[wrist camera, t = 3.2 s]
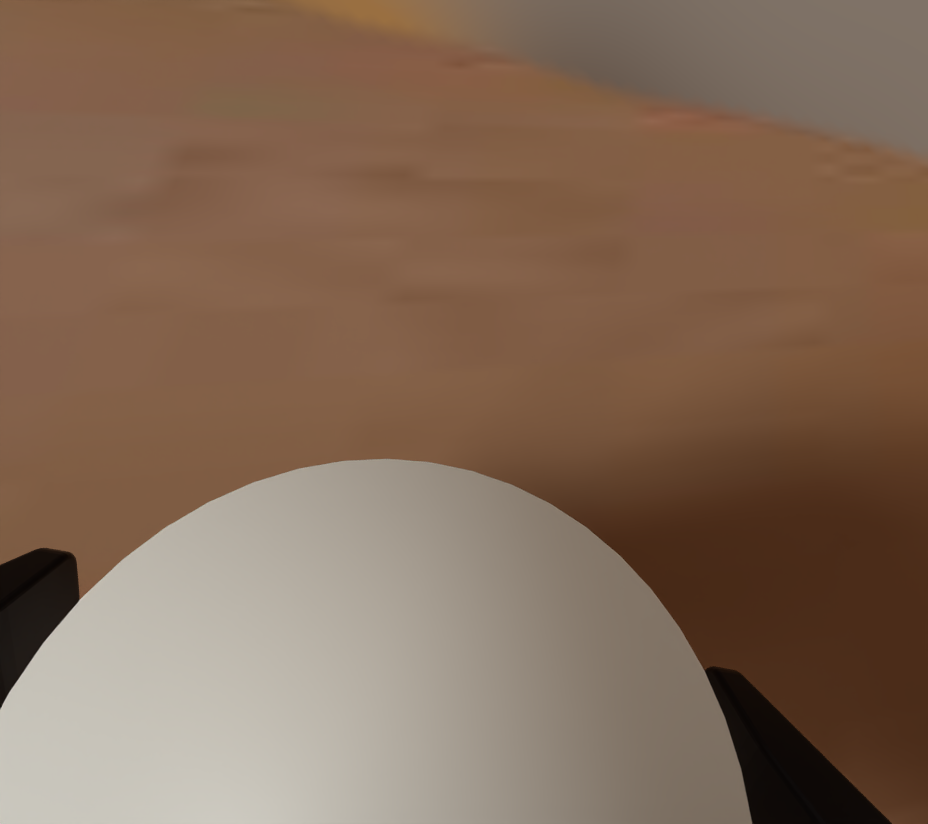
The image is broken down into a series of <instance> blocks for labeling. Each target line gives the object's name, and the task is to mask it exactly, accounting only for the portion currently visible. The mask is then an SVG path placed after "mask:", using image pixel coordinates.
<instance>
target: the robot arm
mask: <svg viewBox="0 0 928 824" xmlns="http://www.w3.org/2000/svg"><path fill="white" fill-rule="evenodd" d="M78 602H79V584H78V573H77V562H76V558H75V556H74V555H73V554H72V553H70V552H66V551H61V550H55V549H49V548H39V549H36V550H33V551H31V552H29V553H26V554H24V555H22V556H20V557H17V558H15V559H13V560H10V561H8V562H6V563H4V564H1V565H0V709H1V707H2V705H3V703H4V701H5V699H6V698H7V696H8V694H9V692H10V691H11V689H12V688H13V686H14V685H15V684H16V682H17V681H18V679H19V678H20V676H21V675H22V673H23V672H24V670H25V669H26V667H27V666H28V665H29V663H30V662H31V660H32V659H33V657H34V656H35V654H36V653H37V651H38V650H39V648H40V647H41V646H42V644H43V643H44V641H45V640H46V639H47V638H48V637H49V636H50V634H51V633H52V632H53V631H54V630H55V629H56V627H57V626H58V625H59V624H60V623H61V622H62V620H63V619H64V618H65V617H66V616H67V615H68V613H69V612H70V611H71V610H72V609H73V608H74V606H75V605H76V604H77V603H78ZM705 673H706V676H707V678H708V680H709V682H710V685H711V687H712V689H713V692H714V694H715V696H716V698H717V701H718V703H719V705H720V708H721V710H722V712H723V714H724V717H725V720H726V723H727V726H728V729H729V732H730V735H731V739H732V742H733V745H734V748H735V751H736V754H737V758H738V761H739V764H740V767H741V771H742V776H743V781H744V786H745V791H746V796H747V800H748V805H749V810H750V815H751V820H752V824H892V823H891V822H890V821H889V820H888V819H887V818H886V817H885V816H884V815H883V814H882V813H881V812H880V811H879V810H878V809H877V808H876V807H875V806H874V805H873V804H872V803H871V802H870V801H869V800H868V799H867V798H866V797H865V796H864V795H863V794H862V793H861V792H860V791H859V790H858V789H857V788H856V787H855V786H854V785H853V784H852V783H851V782H850V781H849V780H848V779H847V778H845V777H844V776H843V775H842V774H841V773H840V772H839V771H838V770H837V769H836V768H835V767H834V766H833V765H832V764H831V763H830V762H829V761H828V760H827V759H826V758H825V757H824V756H823V755H822V754H821V753H820V752H819V751H818V750H817V749H816V748H815V747H814V746H813V745H812V744H811V743H810V742H809V741H808V740H807V739H806V738H805V737H804V736H803V735H802V734H801V733H800V732H799V731H798V730H797V729H796V728H795V727H794V726H793V725H792V724H791V723H790V722H789V721H788V720H787V719H786V718H785V717H784V716H783V715H782V714H781V713H780V712H779V711H778V710H777V709H776V708H775V707H774V706H773V705H772V704H771V703H770V702H769V701H768V700H767V699H766V698H765V697H764V696H763V695H762V694H761V693H760V692H759V691H758V690H757V689H756V688H755V687H754V686H753V685H752V684H751V683H750V682H749V681H748V680H747V679H746V678H745V677H744V676H743V675H742V674H740V673H739V672H737V671H735V670H731V669H725V668H720V667H709V668H707V669H706V670H705Z"/></svg>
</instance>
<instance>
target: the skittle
mask: <svg viewBox="0 0 928 824" xmlns="http://www.w3.org/2000/svg"><path fill="white" fill-rule="evenodd" d="M0 824H752V820H751V815H750V810H749V805H748V800H747V796H746V791H745V786H744V781H743V776H742V771H741V767H740V764H739V761H738V758H737V754H736V751H735V748H734V745H733V742H732V739H731V735H730V732H729V729H728V726H727V723H726V720H725V717H724V714H723V712H722V710H721V708H720V705H719V703H718V701H717V698H716V696H715V694H714V692H713V689H712V687H711V685H710V682H709V680H708V678H707V676H706V673H705V671H704V669H703V667H702V666H701V664H700V662H699V660H698V659H697V657H696V655H695V653H694V652H693V650H692V648H691V647H690V645H689V643H688V641H687V640H686V638H685V636H684V634H683V633H682V631H681V629H680V627H679V626H678V625H677V623H676V622H675V621H674V619H673V618H672V617H671V615H670V614H669V613H668V611H667V610H666V608H665V607H664V606H663V604H662V603H661V602H660V600H659V599H658V598H657V596H656V595H655V593H654V592H653V591H652V589H651V588H650V587H649V586H648V585H647V584H646V583H645V582H644V581H643V580H642V579H641V578H640V577H639V575H638V574H637V573H636V572H635V571H634V570H633V569H632V568H631V567H630V566H629V565H628V564H627V563H626V562H625V560H624V559H623V558H622V557H621V556H620V555H619V554H617V553H616V552H615V551H614V550H613V549H611V548H610V547H609V546H608V545H607V544H606V543H604V542H603V541H602V540H601V539H600V538H598V537H597V536H596V535H595V534H594V533H593V532H591V531H590V530H589V529H588V528H587V527H585V526H584V525H582V524H581V523H579V522H578V521H576V520H575V519H573V518H571V517H570V516H568V515H567V514H565V513H564V512H562V511H561V510H559V509H558V508H556V507H555V506H553V505H552V504H550V503H548V502H546V501H544V500H542V499H540V498H538V497H536V496H534V495H532V494H530V493H528V492H526V491H524V490H522V489H520V488H518V487H515V486H513V485H511V484H508V483H505V482H503V481H500V480H497V479H494V478H491V477H488V476H485V475H482V474H479V473H476V472H473V471H470V470H465V469H460V468H455V467H450V466H446V465H441V464H436V463H431V462H420V461H407V460H394V459H375V460H355V461H340V462H335V463H329V464H323V465H318V466H312V467H306V468H300V469H296V470H293V471H290V472H286V473H283V474H280V475H276V476H273V477H270V478H267V479H263V480H260V481H257V482H253V483H251V484H249V485H247V486H244V487H242V488H240V489H238V490H235V491H233V492H231V493H228V494H226V495H224V496H222V497H219V498H217V499H215V500H213V501H210V502H208V503H206V504H205V505H203V506H201V507H200V508H198V509H196V510H195V511H193V512H191V513H189V514H188V515H186V516H184V517H183V518H181V519H179V520H177V521H176V522H174V523H172V524H171V525H169V526H167V527H166V528H164V529H163V530H161V531H160V532H159V533H157V534H156V535H155V536H153V537H152V538H151V539H149V540H148V541H147V542H145V543H144V544H143V545H141V546H140V547H139V548H137V549H136V550H135V551H133V552H132V553H131V554H129V555H128V556H127V557H125V558H124V559H123V560H122V561H121V562H120V563H118V564H117V565H116V566H115V567H114V568H113V569H112V570H111V571H110V572H109V573H108V574H107V575H106V576H105V577H104V578H102V579H101V580H100V581H99V582H98V583H97V584H96V585H95V586H94V587H93V588H92V589H91V590H90V591H89V592H88V593H87V594H85V595H84V596H83V597H82V598H81V599H80V601H79V602H78V603H77V604H76V605H75V606H74V608H73V609H72V610H71V611H70V612H69V613H68V615H67V616H66V617H65V618H64V619H63V620H62V622H61V623H60V624H59V625H58V626H57V627H56V629H55V630H54V631H53V632H52V633H51V634H50V636H49V637H48V638H47V639H46V640H45V641H44V643H43V644H42V646H41V647H40V648H39V650H38V651H37V653H36V654H35V656H34V657H33V659H32V660H31V662H30V663H29V665H28V666H27V667H26V669H25V670H24V672H23V673H22V675H21V676H20V678H19V679H18V681H17V682H16V684H15V685H14V686H13V688H12V689H11V691H10V692H9V694H8V696H7V698H6V699H5V701H4V703H3V705H2V707H1V709H0Z"/></svg>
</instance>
